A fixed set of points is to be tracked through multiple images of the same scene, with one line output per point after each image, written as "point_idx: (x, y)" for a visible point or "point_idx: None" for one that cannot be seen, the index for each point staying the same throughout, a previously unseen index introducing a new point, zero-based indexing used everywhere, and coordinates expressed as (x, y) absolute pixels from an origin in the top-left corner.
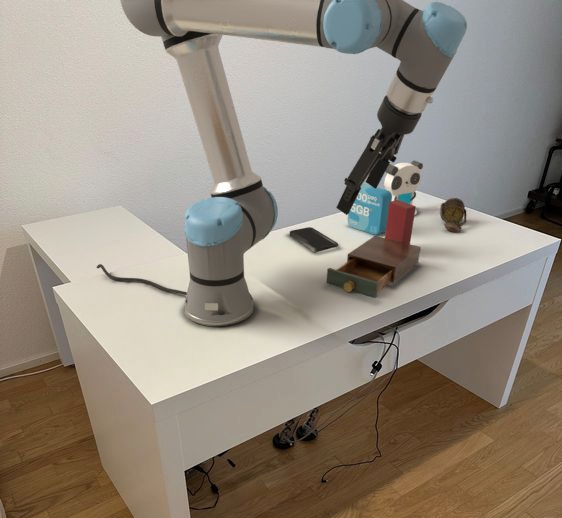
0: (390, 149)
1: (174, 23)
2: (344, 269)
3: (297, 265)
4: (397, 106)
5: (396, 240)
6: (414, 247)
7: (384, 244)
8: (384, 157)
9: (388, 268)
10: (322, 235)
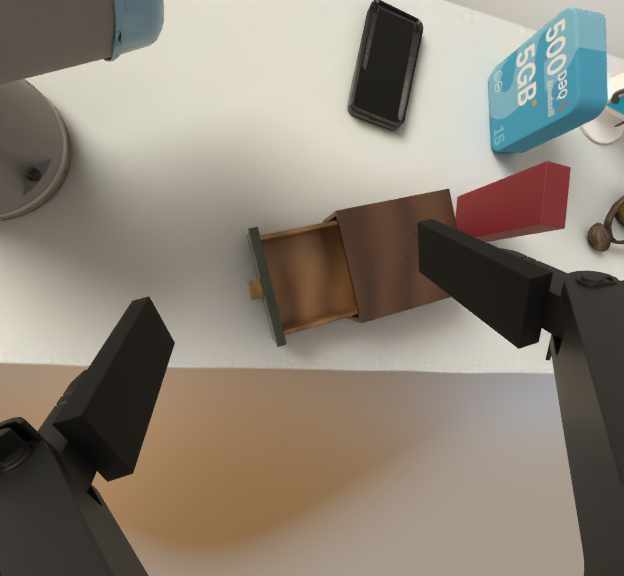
0: (578, 476)
1: None
2: (303, 232)
3: (277, 122)
4: None
5: (474, 221)
6: None
7: None
8: (550, 308)
9: None
10: (410, 71)
